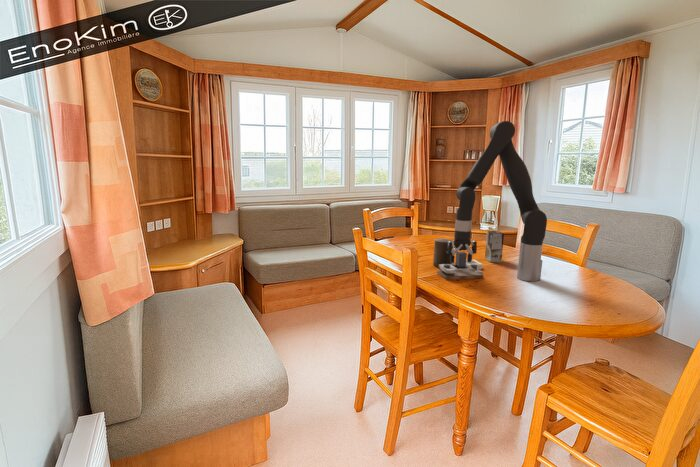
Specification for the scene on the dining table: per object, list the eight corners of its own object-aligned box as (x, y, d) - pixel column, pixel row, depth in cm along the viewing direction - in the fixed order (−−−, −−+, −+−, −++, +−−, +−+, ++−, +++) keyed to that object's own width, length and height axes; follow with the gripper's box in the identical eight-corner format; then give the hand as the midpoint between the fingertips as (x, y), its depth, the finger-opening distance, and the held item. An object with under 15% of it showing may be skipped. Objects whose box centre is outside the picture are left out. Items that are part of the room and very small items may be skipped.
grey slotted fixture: (472, 271, 187) (473, 260, 185) (483, 277, 177) (484, 266, 176) (437, 273, 183) (437, 262, 182) (445, 279, 174) (446, 268, 173)
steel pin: (461, 271, 182) (463, 251, 180) (465, 273, 178) (466, 253, 176) (454, 271, 181) (456, 251, 179) (458, 273, 178) (459, 253, 176)
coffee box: (501, 262, 203) (504, 233, 200) (490, 262, 203) (492, 233, 200) (495, 258, 212) (498, 230, 209) (484, 257, 212) (486, 230, 209)
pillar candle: (447, 269, 190) (449, 240, 187) (429, 265, 196) (431, 237, 193) (454, 265, 197) (456, 237, 195) (437, 262, 203) (439, 235, 200)
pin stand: (473, 263, 200) (474, 259, 199) (482, 268, 191) (482, 264, 191) (457, 264, 198) (458, 260, 198) (465, 269, 190) (466, 264, 189)
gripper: (452, 231, 171) (450, 265, 174) (481, 230, 173) (478, 264, 176) (445, 228, 178) (443, 260, 181) (473, 227, 180) (470, 259, 184)
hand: (460, 262), depth 179 cm, fingers open, 8 cm apart
